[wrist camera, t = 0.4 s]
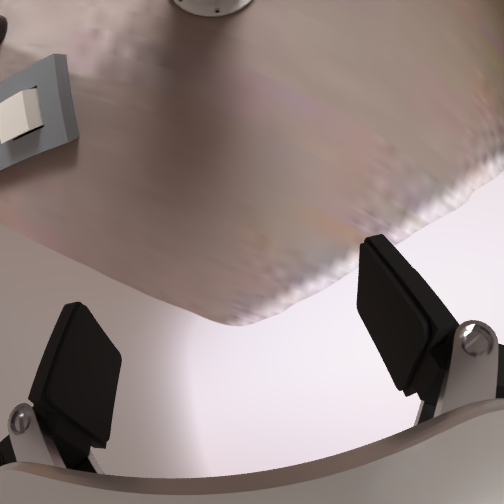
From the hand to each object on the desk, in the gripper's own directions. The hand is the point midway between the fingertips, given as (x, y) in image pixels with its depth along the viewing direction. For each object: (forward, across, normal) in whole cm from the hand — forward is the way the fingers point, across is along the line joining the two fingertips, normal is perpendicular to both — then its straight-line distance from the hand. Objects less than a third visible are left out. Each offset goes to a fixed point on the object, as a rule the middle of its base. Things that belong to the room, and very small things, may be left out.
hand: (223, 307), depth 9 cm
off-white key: (+33, +27, -13) cm, 45 cm away
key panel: (+36, +34, -14) cm, 51 cm away
